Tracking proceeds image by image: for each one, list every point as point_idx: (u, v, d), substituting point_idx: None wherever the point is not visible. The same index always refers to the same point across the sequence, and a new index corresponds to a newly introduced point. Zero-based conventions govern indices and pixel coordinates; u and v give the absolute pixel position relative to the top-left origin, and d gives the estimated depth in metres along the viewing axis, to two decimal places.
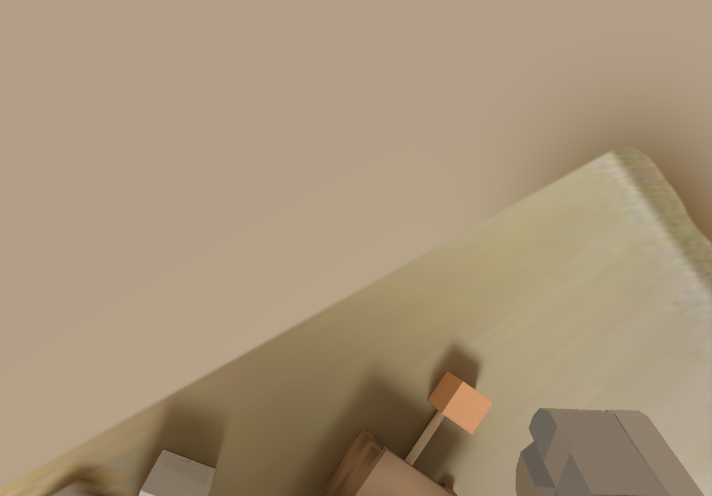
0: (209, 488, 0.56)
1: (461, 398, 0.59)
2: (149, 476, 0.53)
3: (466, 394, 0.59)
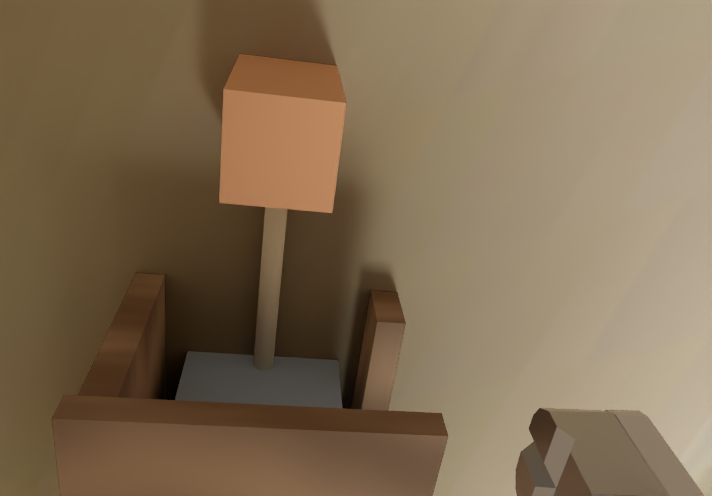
0: None
1: (248, 138, 0.19)
2: None
3: (255, 120, 0.19)
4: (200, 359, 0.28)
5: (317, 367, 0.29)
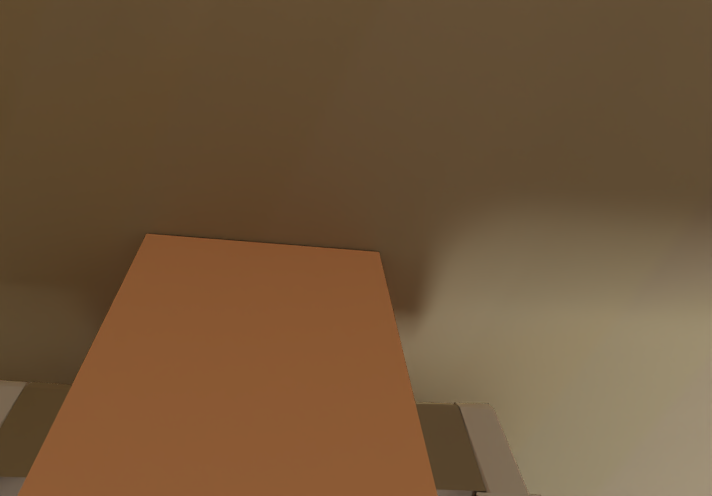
0: None
1: None
2: None
3: None
4: None
5: None
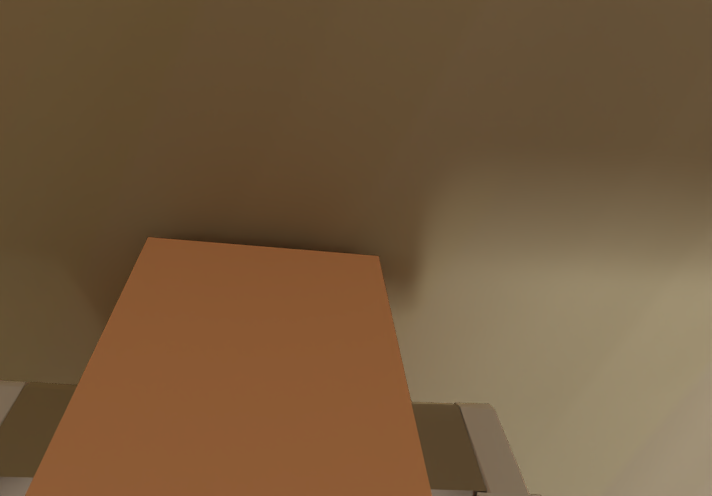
0: None
1: None
2: None
3: None
4: None
5: None
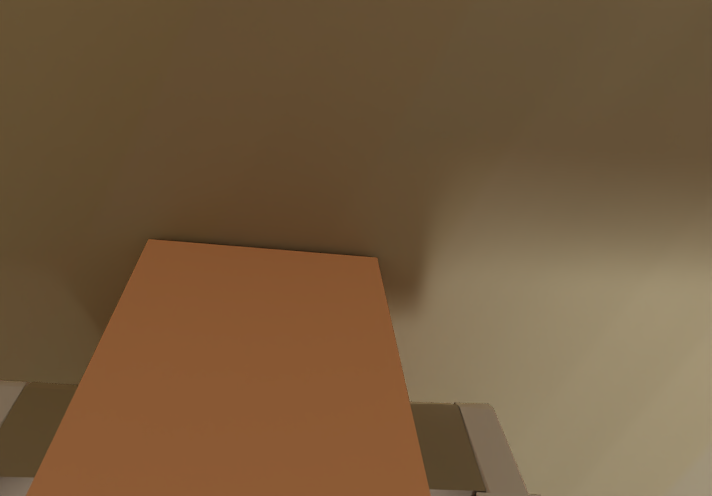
0: None
1: None
2: None
3: None
4: None
5: None
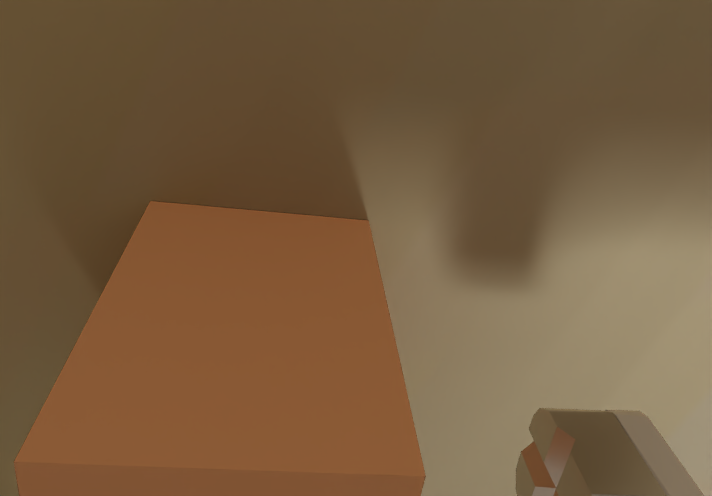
0: None
1: None
2: None
3: None
4: None
5: None
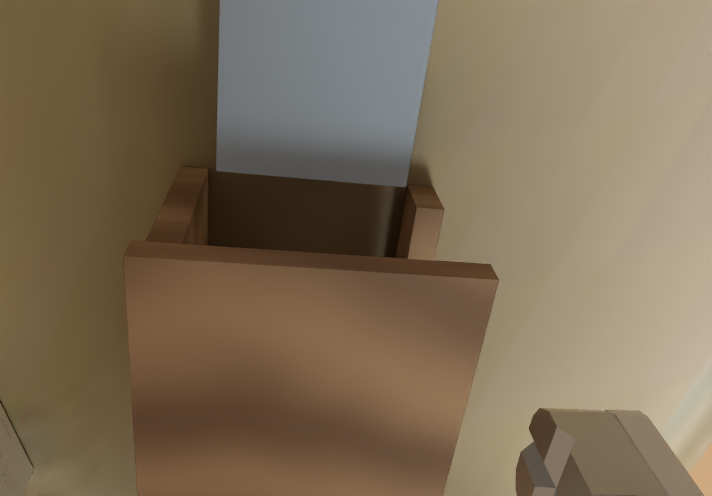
0: None
1: None
2: None
3: None
4: None
5: None
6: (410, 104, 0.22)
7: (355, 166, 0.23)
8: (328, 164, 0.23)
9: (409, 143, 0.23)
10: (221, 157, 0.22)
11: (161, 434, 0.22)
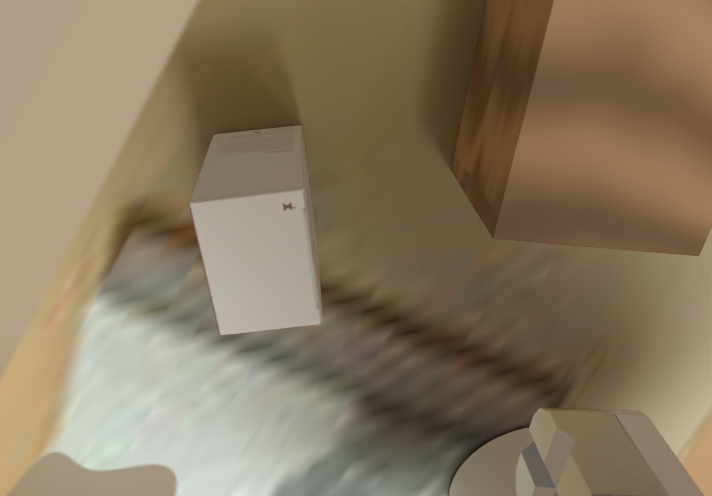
0: (301, 152, 0.34)
1: None
2: (199, 177, 0.32)
3: None
4: None
5: None
6: None
7: None
8: None
9: None
10: None
11: (548, 98, 0.29)
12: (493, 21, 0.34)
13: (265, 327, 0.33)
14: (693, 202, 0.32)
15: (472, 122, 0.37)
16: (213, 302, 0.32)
